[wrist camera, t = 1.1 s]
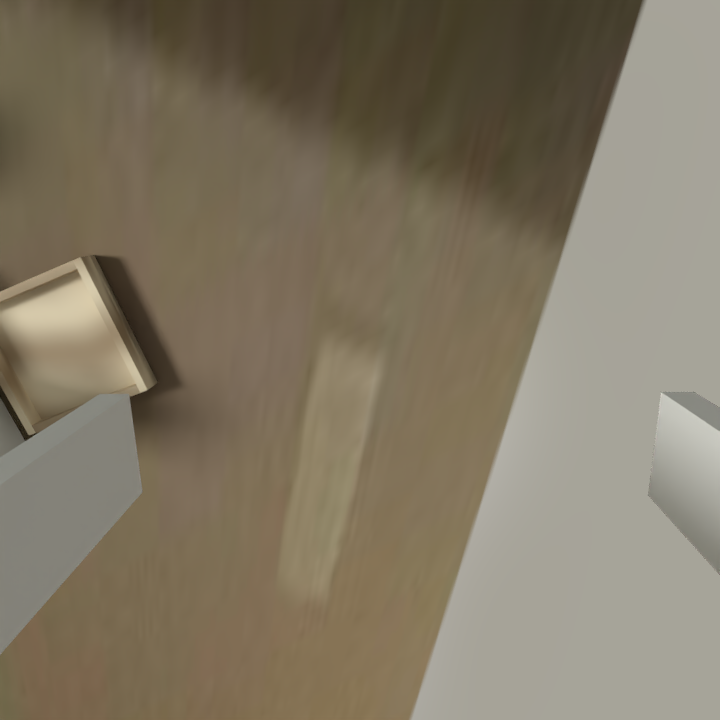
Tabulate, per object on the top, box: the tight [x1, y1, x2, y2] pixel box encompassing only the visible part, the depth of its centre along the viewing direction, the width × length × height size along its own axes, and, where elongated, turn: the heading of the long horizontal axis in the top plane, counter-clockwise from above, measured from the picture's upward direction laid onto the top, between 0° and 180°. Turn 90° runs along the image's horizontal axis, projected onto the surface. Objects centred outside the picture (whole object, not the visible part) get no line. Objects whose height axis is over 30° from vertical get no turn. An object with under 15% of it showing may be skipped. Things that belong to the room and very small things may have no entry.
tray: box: [0, 255, 158, 435], centre depth 40 cm, size 10×10×2 cm
